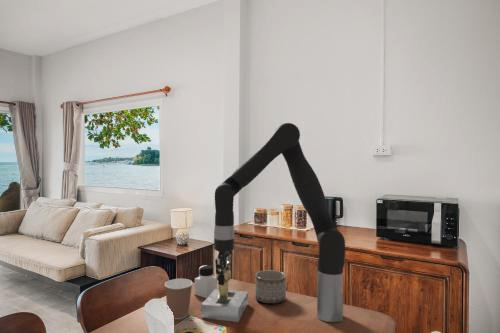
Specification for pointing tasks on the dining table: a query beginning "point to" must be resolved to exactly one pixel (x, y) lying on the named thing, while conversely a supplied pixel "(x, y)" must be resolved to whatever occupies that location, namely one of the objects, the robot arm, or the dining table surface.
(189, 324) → the dining table surface
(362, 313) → the dining table surface
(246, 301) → the jig
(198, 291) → the medicine bottle
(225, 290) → the brass knob
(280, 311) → the dining table surface
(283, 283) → the planter
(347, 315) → the dining table surface
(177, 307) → the coffee cup
